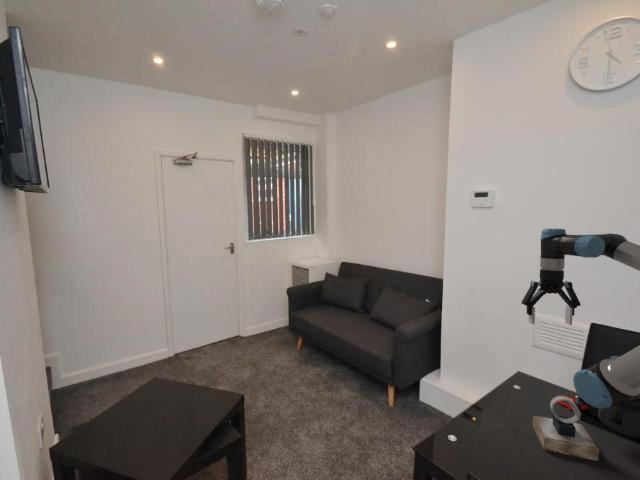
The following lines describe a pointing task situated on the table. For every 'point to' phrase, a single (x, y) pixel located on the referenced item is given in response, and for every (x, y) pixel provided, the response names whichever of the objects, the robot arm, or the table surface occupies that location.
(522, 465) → the table surface
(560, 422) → the watch
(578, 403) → the tow hook
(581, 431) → the plate
